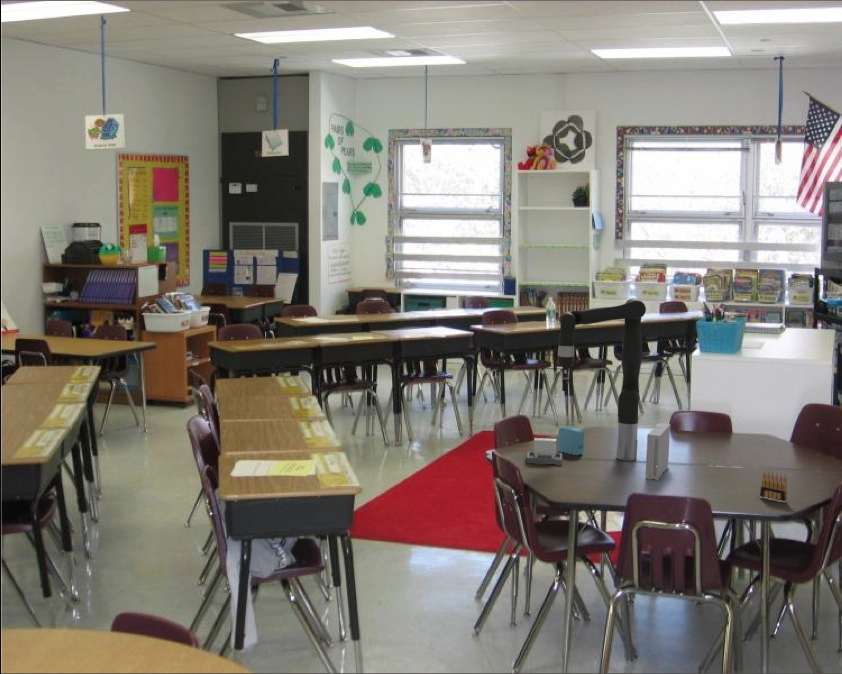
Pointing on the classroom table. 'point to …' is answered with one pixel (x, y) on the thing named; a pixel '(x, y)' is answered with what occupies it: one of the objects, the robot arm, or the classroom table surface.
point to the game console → (657, 451)
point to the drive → (545, 448)
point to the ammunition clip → (773, 486)
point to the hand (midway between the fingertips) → (564, 389)
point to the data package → (571, 440)
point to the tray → (544, 459)
